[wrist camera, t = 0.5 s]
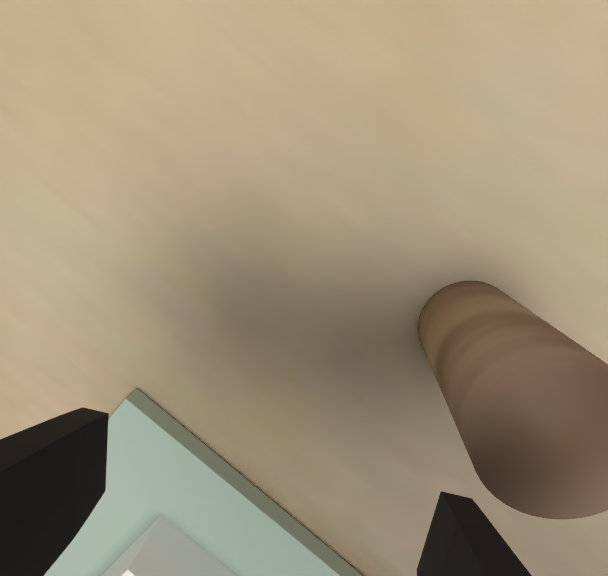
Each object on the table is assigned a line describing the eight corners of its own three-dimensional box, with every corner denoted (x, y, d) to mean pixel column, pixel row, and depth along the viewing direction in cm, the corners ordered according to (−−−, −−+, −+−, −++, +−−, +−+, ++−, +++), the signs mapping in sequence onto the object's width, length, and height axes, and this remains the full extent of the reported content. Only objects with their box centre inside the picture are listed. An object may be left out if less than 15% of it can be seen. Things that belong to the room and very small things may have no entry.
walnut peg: (538, 325, 16) (705, 448, 8) (465, 387, 17) (553, 547, 9) (468, 261, 16) (574, 326, 8) (398, 328, 17) (433, 443, 9)
